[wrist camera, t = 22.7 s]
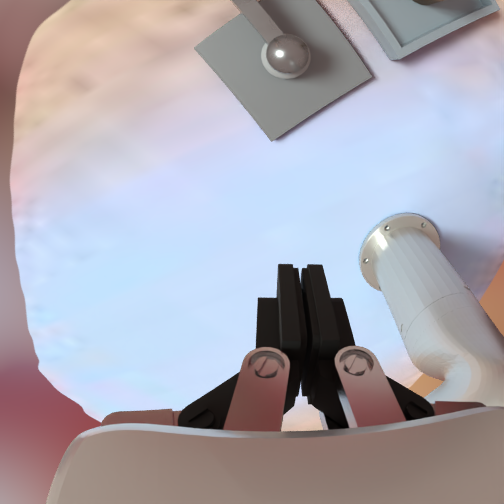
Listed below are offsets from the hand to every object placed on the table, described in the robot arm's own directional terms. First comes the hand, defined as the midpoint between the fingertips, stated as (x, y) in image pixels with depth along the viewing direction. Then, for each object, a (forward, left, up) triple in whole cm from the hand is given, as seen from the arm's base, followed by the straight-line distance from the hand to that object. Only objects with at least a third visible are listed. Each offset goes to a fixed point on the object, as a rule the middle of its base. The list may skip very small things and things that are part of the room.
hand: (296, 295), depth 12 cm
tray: (+8, -27, -27) cm, 39 cm away
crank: (+13, -7, -24) cm, 28 cm away
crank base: (+8, -7, -27) cm, 29 cm away
